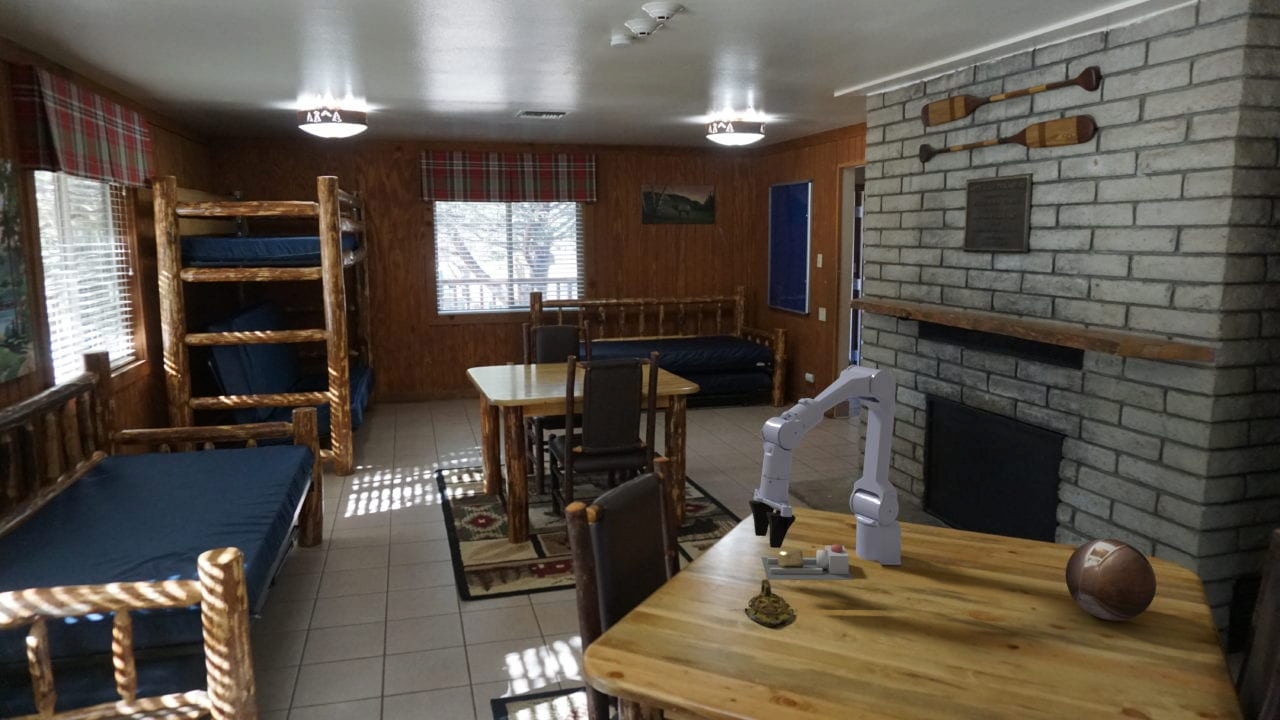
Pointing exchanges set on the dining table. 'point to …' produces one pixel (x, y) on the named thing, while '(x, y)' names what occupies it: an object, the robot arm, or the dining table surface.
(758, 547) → the dining table surface
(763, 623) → the seal
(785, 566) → the brass fitting
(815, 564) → the valve board
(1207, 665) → the dining table surface
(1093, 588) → the wooden sphere
